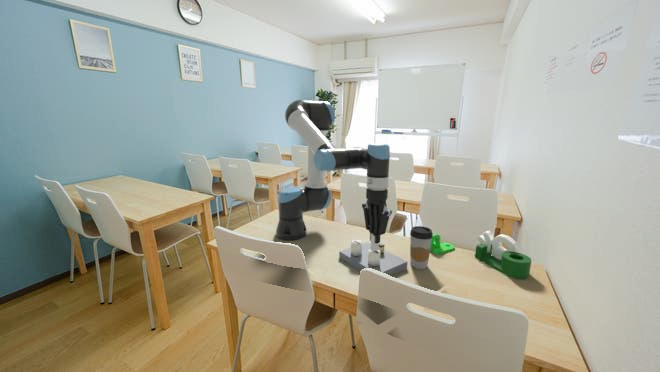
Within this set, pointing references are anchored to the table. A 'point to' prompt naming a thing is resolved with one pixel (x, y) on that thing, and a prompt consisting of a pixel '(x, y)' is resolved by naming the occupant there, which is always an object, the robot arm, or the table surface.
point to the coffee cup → (420, 246)
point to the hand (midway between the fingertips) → (374, 250)
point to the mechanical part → (439, 245)
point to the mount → (387, 265)
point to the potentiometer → (381, 248)
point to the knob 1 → (356, 247)
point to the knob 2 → (373, 258)
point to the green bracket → (506, 262)
